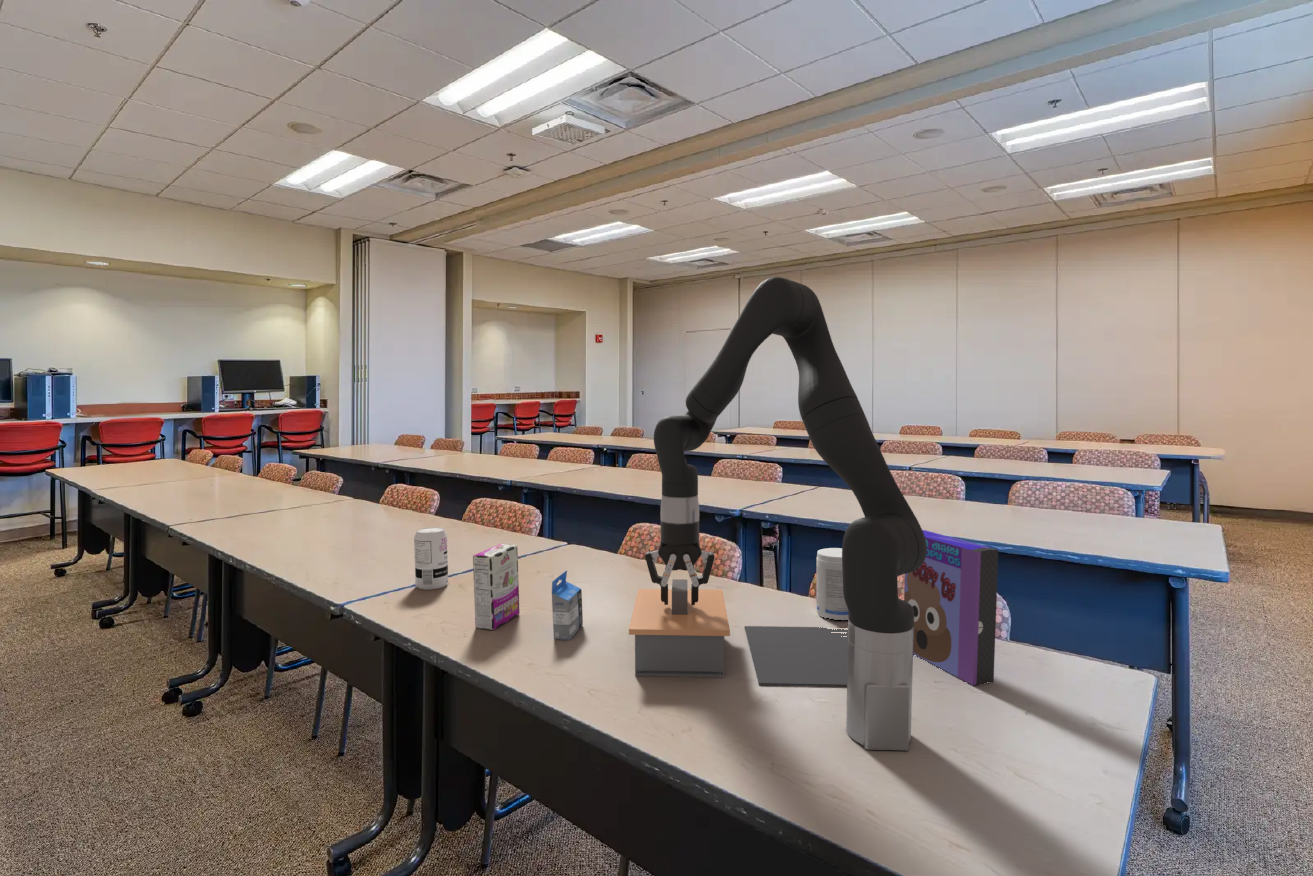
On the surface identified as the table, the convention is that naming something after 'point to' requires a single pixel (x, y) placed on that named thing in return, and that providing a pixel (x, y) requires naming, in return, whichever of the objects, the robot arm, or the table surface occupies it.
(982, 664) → the cereal box
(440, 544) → the supplement can
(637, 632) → the lid
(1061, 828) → the table surface
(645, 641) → the storage box
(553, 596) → the label tape box
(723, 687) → the table surface
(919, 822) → the table surface
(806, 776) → the table surface
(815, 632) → the rubber mat
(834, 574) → the supplement tub
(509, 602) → the candy bar box
